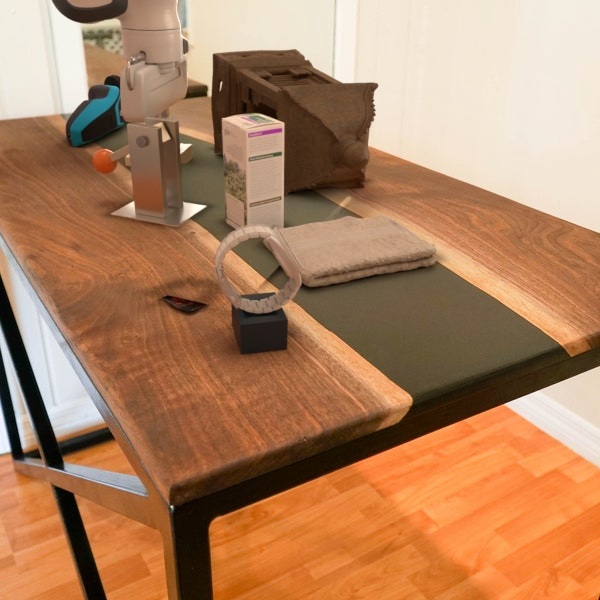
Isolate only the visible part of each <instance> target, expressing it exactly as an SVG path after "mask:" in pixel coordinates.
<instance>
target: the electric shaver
mask: <svg viewBox="0 0 600 600" xmlns="http://www.w3.org/2000/svg"><path fill="white" fill-rule="evenodd" d="M120 78H121V76H119V75H117V74H111V75H107V77H105V79H104V82H103V84H95V85H92V86H90V87H89V89H88V92H87V96H88V97H87V98H88V99H86V100H83V101H82V102H81V103H79V105H78V106H77V107H76V108H75V109H74V111H73V112H72V114H71V115H70V116H69V117H68V119H67V120H66V123H65V135H66V139H67V142H68V144H69V145H70V146H71V147H73V148H76V147H80V146H82V145H85V144H88V143H90V142H92V141H95V140H97V139H99V138H101V137H103V136H104V135H106V134H108V133H110V132H112V131H115V130H116V129H119V128H121V127H124V125H125V122H126V121H125V120H124V118H123V116H122V112H121V93H120Z"/></svg>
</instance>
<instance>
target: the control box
mask: <svg viewBox="0 0 600 600" xmlns="http://www.w3.org/2000/svg"><path fill="white" fill-rule="evenodd" d="M193 149H194V148H193V143H183V142H182V143H181V142H180V156H181V164H184V165H187V164H189V162H190V161H192V160H193V158H194V152H193V151H194V150H193ZM124 164H125V166H126V167H131V165H130V155H129V154H128V155H126V156H124Z"/></svg>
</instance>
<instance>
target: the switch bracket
mask: <svg viewBox="0 0 600 600" xmlns="http://www.w3.org/2000/svg"><path fill="white" fill-rule="evenodd" d="M160 122H162V123H163V125H164V127H165V129H166V131H167V132H168V134H169V136H170V138H171V139H170V140H169V141H167V142H165V143H163V140H162V127H158V126H152V125H155V124H157V123H160ZM179 123H180V122H179V119H174V118H168V119H167V118H159V117H151V116H148V117H145V123H135V122H128V123H127V124H126V133H127V143H128V144H127V145H129V155H130V165H131V166H130V174H131V183H132V184H131V185H132V194H133V201H131V202H129V203H127V204H125V205H123V206H121V207H120V208H118V209H117V210H114V211H113V212H111V213H110V216H112V217H116V218H117V217H118V218H121V219H122V218H123V219H127V220H128V219H129V220H134V221H137V222H144V223H150V224H155V225H159V226H165V227H170V228H176V229H178V228H179V227H180V226H182V225H184V224H185V223H187V222H188V221H190V220H191V219H193V218H194V217H195V216H197V215H198V214H200V213H202V212H203V211H205V210H206V209H207V208H208V206H207V205H203V204H197V203H191V202H185V201H184V193H183V192H184V191H183V176H182V163H181V156H180V143H181V141H180V124H179Z"/></svg>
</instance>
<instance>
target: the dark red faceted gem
mask: <svg viewBox="0 0 600 600" xmlns="http://www.w3.org/2000/svg"><path fill="white" fill-rule="evenodd" d="M160 299H161V300H164V301H166V302H167V303H170V304H172V305H173V306H171V307H172V308H175V307H176V308H177V309H180V310H181V311H184V312H187V313H188V312H192V311H195V310H198V309H200V308H202V307H205V306H207V305H208V303H205V302H200V301H196V300H191V299H187V298H182V297H177V296H174V295H170V294H169V295H168V294H167V295H165V296H162V297H160V298H158V299H157V301H159V300H160Z"/></svg>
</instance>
